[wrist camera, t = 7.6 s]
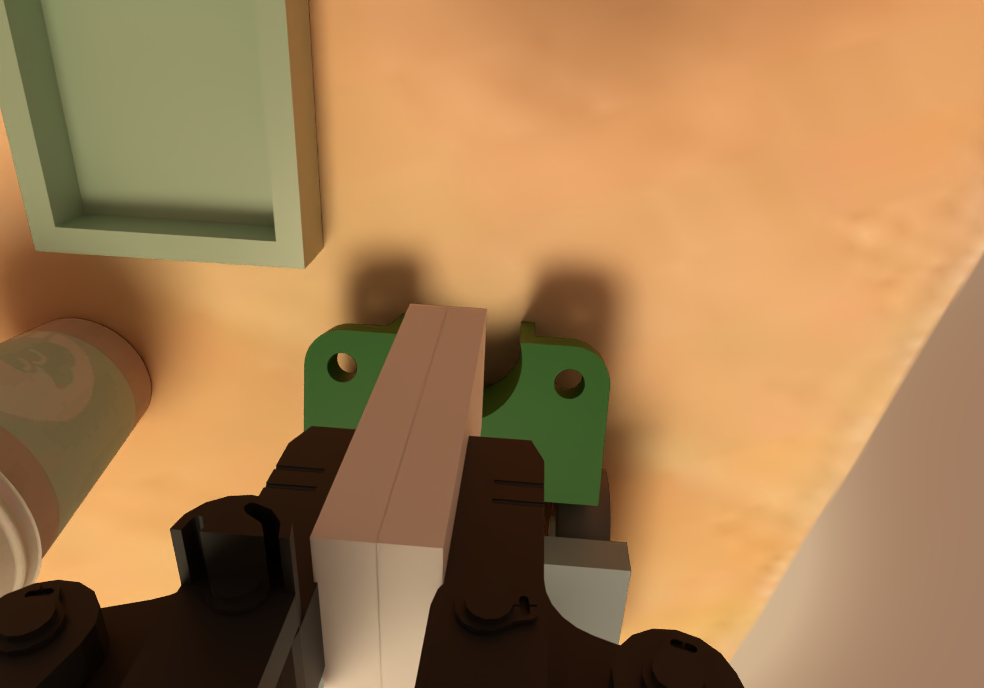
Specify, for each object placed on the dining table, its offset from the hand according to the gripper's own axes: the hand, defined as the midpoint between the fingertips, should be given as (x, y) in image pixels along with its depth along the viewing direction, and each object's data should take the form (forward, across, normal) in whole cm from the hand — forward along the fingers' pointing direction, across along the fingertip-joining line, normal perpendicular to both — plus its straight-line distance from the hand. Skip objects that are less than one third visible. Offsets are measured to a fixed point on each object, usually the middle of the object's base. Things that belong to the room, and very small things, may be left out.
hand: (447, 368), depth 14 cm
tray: (+15, -12, +2) cm, 19 cm away
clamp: (+15, -1, -8) cm, 17 cm away
